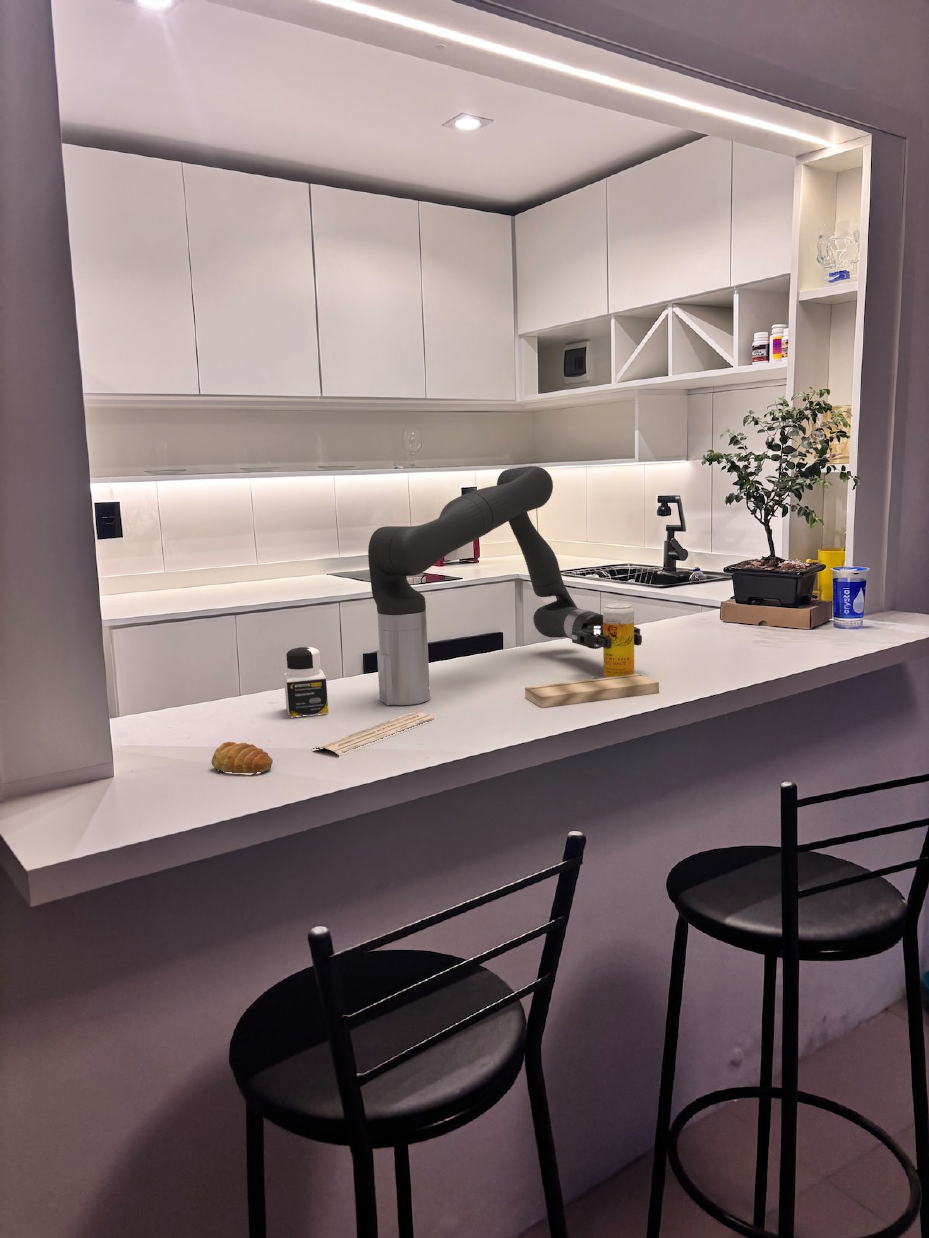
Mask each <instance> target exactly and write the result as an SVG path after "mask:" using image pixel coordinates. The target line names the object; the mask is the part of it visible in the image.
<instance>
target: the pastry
mask: <svg viewBox="0 0 929 1238" xmlns="http://www.w3.org/2000/svg"><path fill="white" fill-rule="evenodd" d="M273 761H274V760H273V758H272V757H271V756H270V755H269V753H268V752H266V751H264V750H263V748H258V747H257V746H256V745H254V744H253V743H252V744H250V743H247V742H240V743H237V742H234V741H227V742H223V743H222V744H220V745H219V747H217V748H216V749H215V751H214V753H213V755H212V759H211V762H210V763H211V765H212V767H213V768H214V770H216V769H217V770H221V771H220V772H222V771H224V772H232V773H257V772H263V773H264V772H266V771H268V770H271V768H272V765H273V763H274V762H273ZM217 770H216V771H217Z"/></svg>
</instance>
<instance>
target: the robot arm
mask: <svg viewBox="0 0 929 1238" xmlns="http://www.w3.org/2000/svg"><path fill="white" fill-rule="evenodd" d="M553 490H554V482H553V479H552V476H551V474H550V473H549V472H548V471H547V470H546V469H545V468H543V467H541V466H536V465H535V466H534V465H531V466H530V465H529V466H520V467H515V468H508V469H504V470H503V471H502V472H501V473H500V474H499V475H498V477H497V482H496V485H493V486H488V487H484V488H480V489H476V490H473V491H469V492H466V493H464V494H462V495H460V496H458V497H455V498H454V499H452V500H450V501H449V502H448V503H447V504H445V505H444V507H443V508H442V510H441V511H440V514H439V517H438V518H436V519H434V520H432V521H430V522H427V523H424V524H420V525H415V526H413V525H412V526H411V525H409V526H408V525H406V526H404V525H403V526H400V525H397V526H393V525H391V526H389V525H388V526H387V525H386V526H381V527H379V528H377V529H375V530H374V532H373V533H372V535H371V537H370V539H369V542H368V543H369V544H368V548H367V549H368V550H367V558H368V559H367V560H368V570H369V571H368V572H369V577H370V579H369V580H370V586H371V587H370V588H371V594H372V598H373V600H374V602H375V605H376V612H377V613H376V614H377V626H378V627H377V630H378V632H377V633H378V645H379V646H378V648H379V649H377V652H376V655H377V659H376V660H377V673H378V692H379V693H378V694H379V700H380V701H382V703H384V705H386V706H410V705H418V704H422V703H425V702H427V701H429V700H430V699H431V685H430V683H431V682H430V667H429V666H430V665H429V646H428V628H427V627H428V625H427V624H428V623H427V622H428V621H427V610H426V609H427V605H426V598H425V596H424V594H422V593H421V592H419V591H418V590H416V589H414V588H413V586H411V585H410V583H409V581H408V579H407V578H408V577H413V576H415V577H416V576H418V575H421V574H423V573H424V572H426V571H427V570H430V568H432V567H433V566H434V565H435V564H436V563H438V562H439V561H441V560H442V559H443V558H445V557H446V556H448V555H449V554H451V553H453V552H454V551H456V550H458V549H460V548H462V547H464V546H466V545H468V544H470V543H471V542H474V541H476V540H478V539H480V538H481V537H484V536H485V535H487V534H488V533H490V532H492V531H494V530H495V529H497V528H500V527H501V526H502V525H504V524H506V523H507V522H508V523H509V527H510V528H511V531H512V533H513V534H514V537H515V539H516V541H517V544H518V545H519V548H520V549H521V553H522V556H523V557H524V558H523V559H524V560H525V565H526V567H527V572H528V575H529V578H530V582H531V585H532V590H533V593H534V594H535V596H537V597H540V598H549V597H555V599H556V600H555V601H553V602H550V603H547V604H545V605H543V606H540V607H538V608H537V609H536V610H535V612H534V613H533V614H534V615H533V617H532V618H533V624H534V627H535V629H536V630H537V631H538V632H539V634H541V635H543V636H544V637H546V638H567V639H569V640H571V643H572V644H575V645H579V646H583V647H587V648H589V649H592V650H597V649H601V648H602V649H603V648H606V649H610V648H611V638H610V637H607V636H604V635H603V614H601V613H598V612H595V611H591V610H588V609H583V608H582V609H581V608H578V606H577V605H576V603H575V602H574V599H573V598H572V597H571V595H570V594H569V591H568V588H566V586H565V583H564V580H563V577H562V573H561V569H560V566H559V562H558V559H557V556H556V554H555V552H554V551H553V549H552V547H551V546H550V545H549V543H548V542H547V541H546V540H545V539H544V537H543V536H542V535H541V533H539V531H538V530H537V529H536V527H535V526H534V524H533V523H532V521H531V518H530V516H529V513H528V512H530V511H533V510H536V509H540V508H541V507H544V506H545V505H546V504H547V503H548V502H549V500H550V498H551V496H552V494H553ZM642 643H643V636H642V635H641V628H638V627H636V626H634V646H641V645H642Z"/></svg>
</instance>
